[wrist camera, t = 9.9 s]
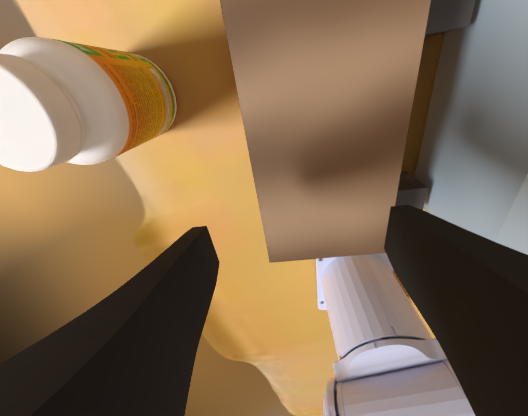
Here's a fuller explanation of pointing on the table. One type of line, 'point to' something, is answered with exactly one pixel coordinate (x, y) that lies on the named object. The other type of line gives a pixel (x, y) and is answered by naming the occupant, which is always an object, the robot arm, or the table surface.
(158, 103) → the supplement bottle
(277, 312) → the table surface
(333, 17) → the cabinet
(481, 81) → the door panel
